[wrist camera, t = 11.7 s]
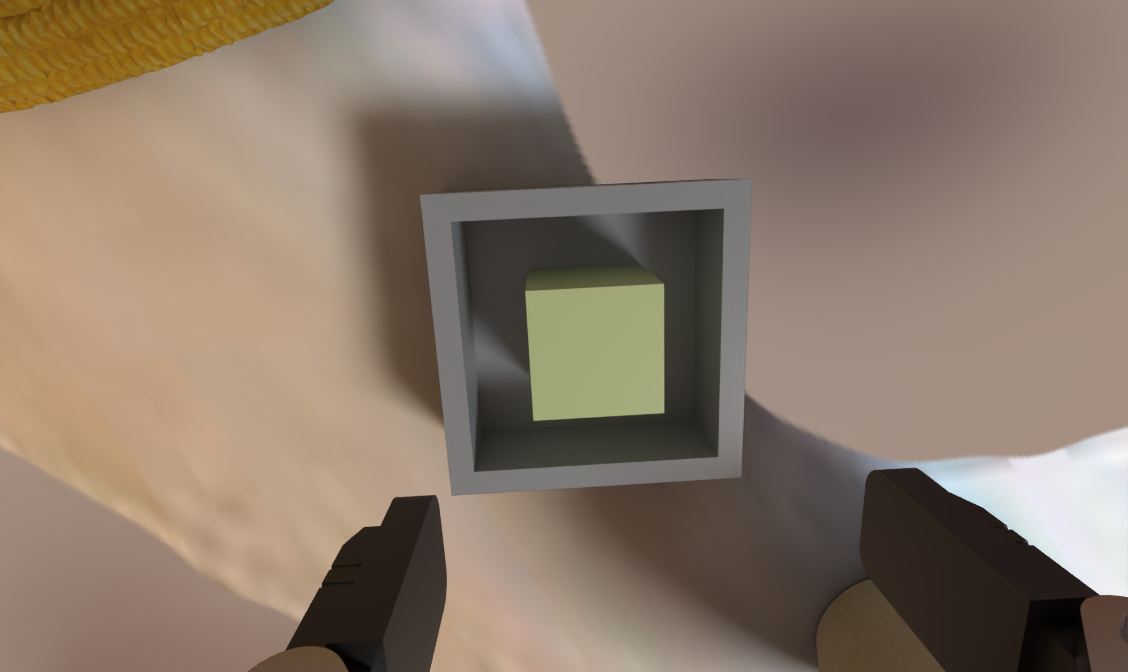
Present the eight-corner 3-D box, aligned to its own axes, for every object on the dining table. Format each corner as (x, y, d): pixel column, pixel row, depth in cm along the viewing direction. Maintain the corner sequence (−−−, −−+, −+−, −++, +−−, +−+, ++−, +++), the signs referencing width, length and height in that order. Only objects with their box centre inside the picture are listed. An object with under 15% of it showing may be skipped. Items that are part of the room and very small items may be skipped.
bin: (712, 179, 26) (751, 178, 21) (708, 428, 29) (741, 477, 24) (441, 192, 26) (419, 194, 21) (466, 442, 29) (451, 495, 24)
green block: (640, 264, 26) (663, 283, 21) (642, 371, 27) (664, 412, 22) (527, 270, 26) (525, 291, 21) (534, 378, 27) (533, 420, 22)
